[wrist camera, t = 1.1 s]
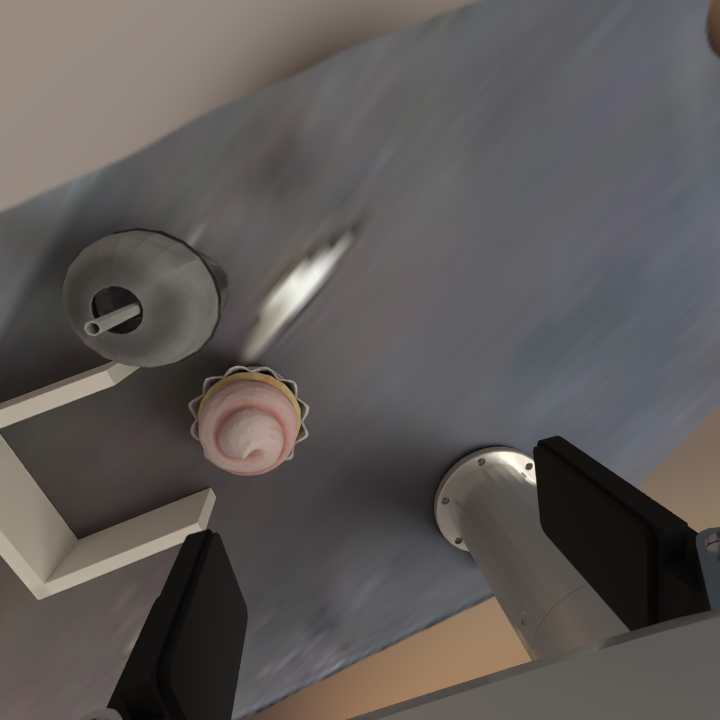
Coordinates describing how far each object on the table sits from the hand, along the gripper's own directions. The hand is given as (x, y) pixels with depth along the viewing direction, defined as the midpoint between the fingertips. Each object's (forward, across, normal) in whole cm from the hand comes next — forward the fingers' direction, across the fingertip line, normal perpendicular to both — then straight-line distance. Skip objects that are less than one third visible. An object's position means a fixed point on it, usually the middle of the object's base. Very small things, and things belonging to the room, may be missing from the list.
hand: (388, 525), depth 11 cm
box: (+24, +22, +5) cm, 33 cm away
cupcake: (+25, +8, +3) cm, 26 cm away
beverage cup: (+24, +9, -8) cm, 27 cm away
